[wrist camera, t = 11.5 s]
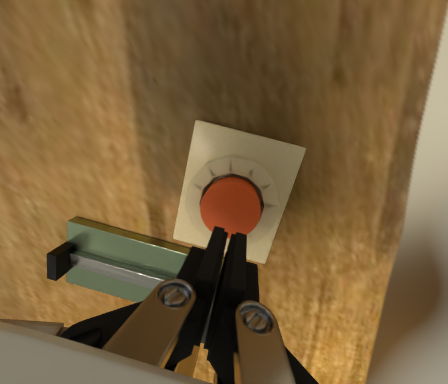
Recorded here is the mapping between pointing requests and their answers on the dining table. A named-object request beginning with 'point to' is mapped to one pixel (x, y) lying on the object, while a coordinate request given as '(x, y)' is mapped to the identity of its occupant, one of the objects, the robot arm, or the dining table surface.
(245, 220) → the button
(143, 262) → the rail
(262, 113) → the dining table surface
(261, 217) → the button box
